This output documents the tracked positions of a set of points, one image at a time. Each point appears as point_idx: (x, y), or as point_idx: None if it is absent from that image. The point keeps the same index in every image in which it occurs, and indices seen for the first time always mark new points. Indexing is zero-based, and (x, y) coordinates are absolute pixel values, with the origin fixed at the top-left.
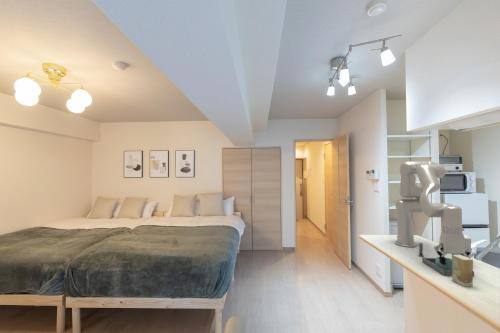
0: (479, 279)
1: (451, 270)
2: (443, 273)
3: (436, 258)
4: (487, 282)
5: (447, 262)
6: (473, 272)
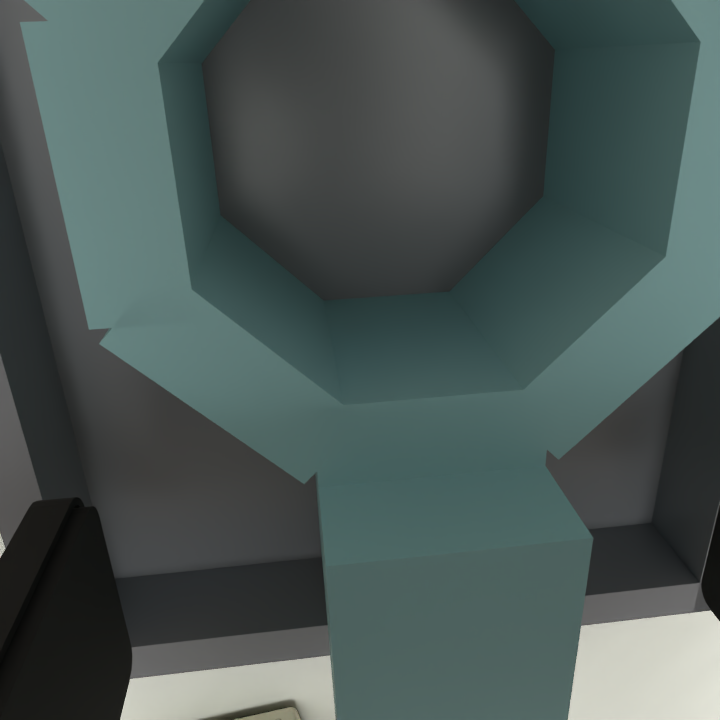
0: None
1: (250, 638)
2: None
3: (84, 13)
4: (677, 688)
5: (318, 478)
6: None
